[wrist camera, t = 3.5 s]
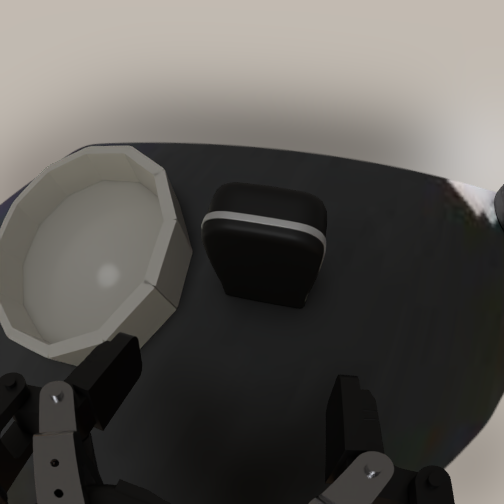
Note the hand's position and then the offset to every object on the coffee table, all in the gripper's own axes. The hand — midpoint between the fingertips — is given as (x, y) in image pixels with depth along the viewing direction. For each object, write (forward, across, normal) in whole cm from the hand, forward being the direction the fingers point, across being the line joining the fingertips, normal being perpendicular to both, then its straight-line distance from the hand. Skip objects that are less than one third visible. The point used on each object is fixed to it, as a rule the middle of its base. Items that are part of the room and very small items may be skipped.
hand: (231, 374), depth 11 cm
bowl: (+14, +17, +3) cm, 22 cm away
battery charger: (+15, 0, +3) cm, 15 cm away
